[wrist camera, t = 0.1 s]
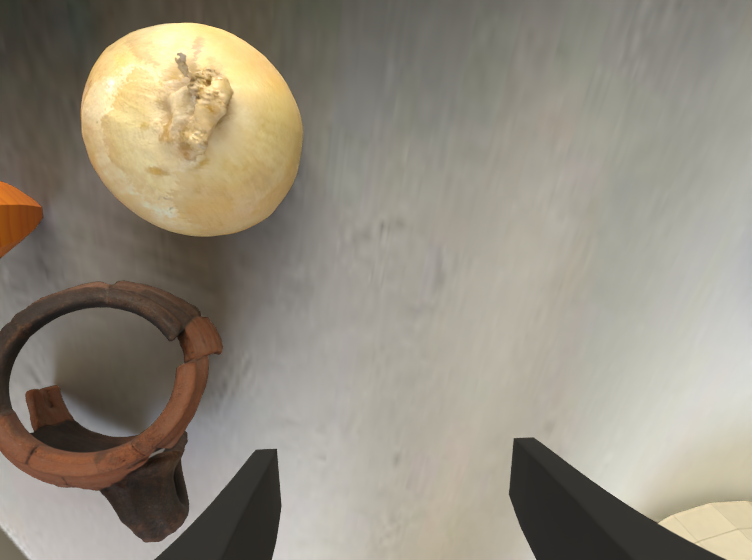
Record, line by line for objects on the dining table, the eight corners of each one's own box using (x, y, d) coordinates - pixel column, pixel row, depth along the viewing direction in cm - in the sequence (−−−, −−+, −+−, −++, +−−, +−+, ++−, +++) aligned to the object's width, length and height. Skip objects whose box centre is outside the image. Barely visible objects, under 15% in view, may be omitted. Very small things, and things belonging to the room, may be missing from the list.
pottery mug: (5, 349, 21) (-120, 339, 14) (182, 270, 25) (161, 227, 17) (115, 550, 21) (50, 651, 14) (277, 441, 25) (298, 473, 17)
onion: (282, 249, 20) (246, 286, 14) (120, 197, 19) (-8, 209, 12) (330, 87, 19) (317, 35, 12) (154, 20, 18) (28, -80, 11)
